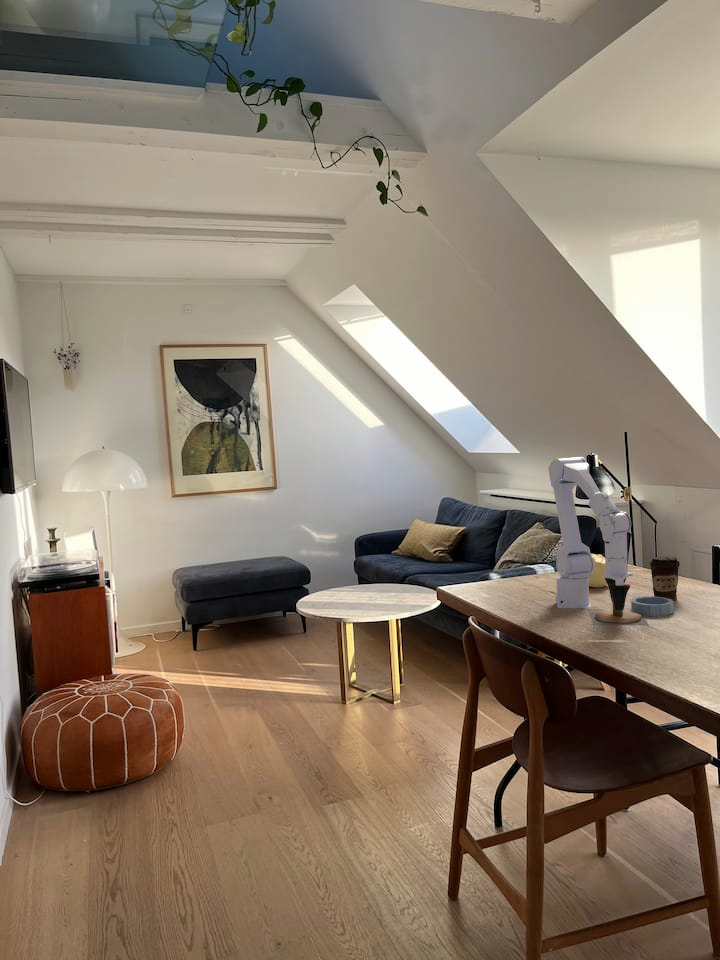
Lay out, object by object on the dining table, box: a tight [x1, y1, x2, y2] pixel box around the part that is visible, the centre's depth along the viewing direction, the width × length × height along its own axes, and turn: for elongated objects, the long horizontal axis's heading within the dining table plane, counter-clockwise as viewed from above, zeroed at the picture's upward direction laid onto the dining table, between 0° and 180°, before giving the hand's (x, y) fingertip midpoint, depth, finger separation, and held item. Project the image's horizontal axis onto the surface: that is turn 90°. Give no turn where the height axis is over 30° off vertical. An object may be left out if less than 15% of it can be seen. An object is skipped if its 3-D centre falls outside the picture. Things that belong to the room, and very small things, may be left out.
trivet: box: [588, 611, 650, 626], centre depth 210 cm, size 14×14×1 cm
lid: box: [595, 597, 641, 624], centre depth 209 cm, size 12×12×6 cm
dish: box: [630, 595, 675, 617], centre depth 215 cm, size 11×11×4 cm
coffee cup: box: [649, 556, 681, 602], centre depth 228 cm, size 9×8×13 cm
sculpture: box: [588, 553, 607, 588], centre depth 254 cm, size 12×12×11 cm
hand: (617, 606), depth 209 cm, fingers open, 7 cm apart
